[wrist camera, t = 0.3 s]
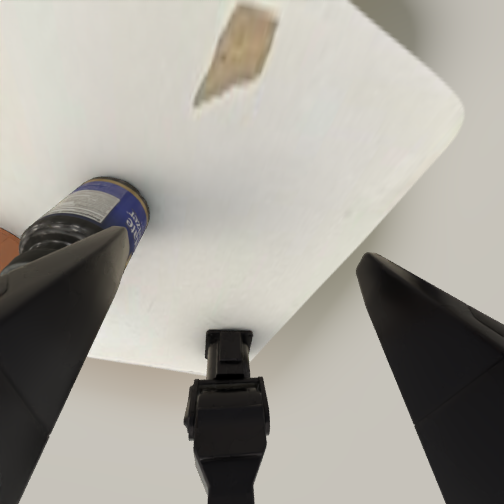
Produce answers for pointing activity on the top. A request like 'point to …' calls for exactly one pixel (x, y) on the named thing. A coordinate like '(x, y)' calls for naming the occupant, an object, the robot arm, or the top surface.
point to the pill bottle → (85, 219)
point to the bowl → (8, 248)
